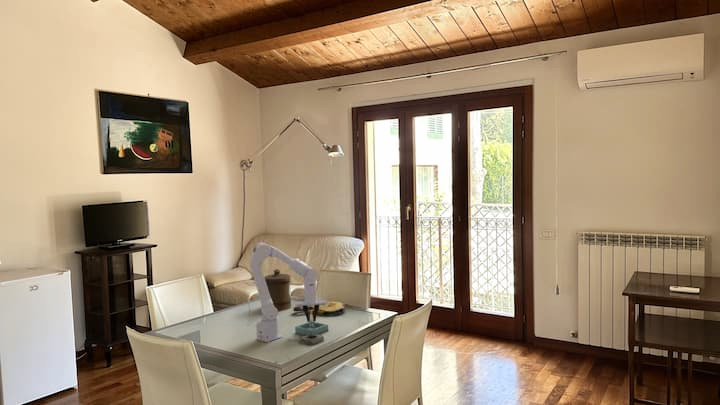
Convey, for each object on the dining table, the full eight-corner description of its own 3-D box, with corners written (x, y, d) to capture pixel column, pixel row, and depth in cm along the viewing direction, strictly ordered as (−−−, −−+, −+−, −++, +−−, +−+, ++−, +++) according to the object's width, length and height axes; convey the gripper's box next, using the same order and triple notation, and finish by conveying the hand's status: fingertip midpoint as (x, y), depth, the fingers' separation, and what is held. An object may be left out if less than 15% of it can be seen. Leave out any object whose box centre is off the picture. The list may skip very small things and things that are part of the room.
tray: (311, 337, 225) (311, 330, 225) (295, 332, 232) (295, 326, 232) (328, 330, 234) (328, 324, 233) (311, 327, 241) (311, 321, 240)
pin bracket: (312, 345, 213) (311, 340, 213) (300, 342, 218) (299, 337, 218) (323, 340, 219) (323, 336, 219) (311, 337, 224) (311, 333, 224)
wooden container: (296, 306, 281) (295, 268, 280) (276, 312, 270) (274, 272, 269) (279, 303, 291) (278, 266, 290) (259, 308, 280) (258, 270, 279)
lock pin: (311, 328, 231) (311, 311, 230) (307, 327, 232) (307, 310, 232) (315, 327, 233) (315, 310, 232) (311, 326, 234) (311, 309, 234)
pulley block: (295, 298, 274) (348, 298, 272) (296, 308, 275) (349, 307, 273) (290, 309, 260) (346, 308, 258) (291, 319, 261) (346, 318, 259)
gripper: (294, 295, 227) (295, 324, 228) (325, 293, 229) (327, 322, 229) (295, 292, 234) (296, 320, 235) (325, 290, 236) (326, 318, 236)
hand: (311, 321), depth 233 cm, fingers closed on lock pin, 3 cm apart
